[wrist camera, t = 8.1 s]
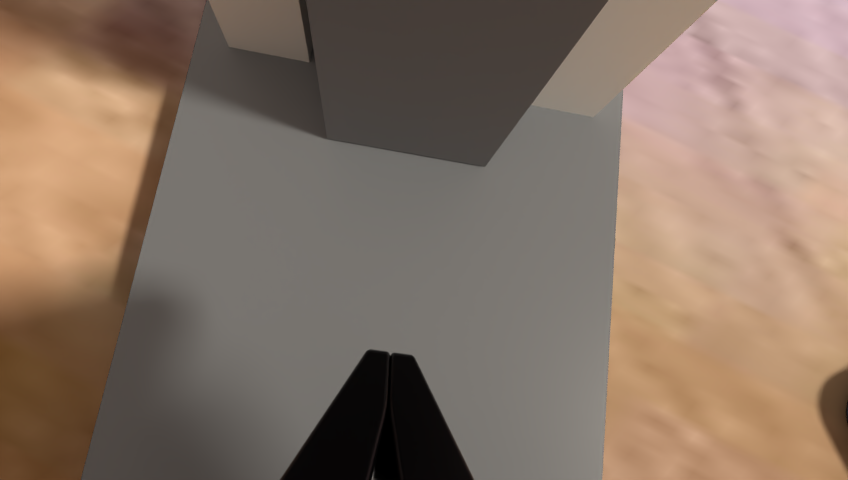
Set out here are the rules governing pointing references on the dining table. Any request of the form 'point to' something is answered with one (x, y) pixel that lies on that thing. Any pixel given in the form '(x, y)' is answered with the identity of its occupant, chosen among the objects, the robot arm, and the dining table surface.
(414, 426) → the robot arm
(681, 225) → the dining table surface
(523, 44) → the plug
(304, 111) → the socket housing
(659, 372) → the dining table surface
